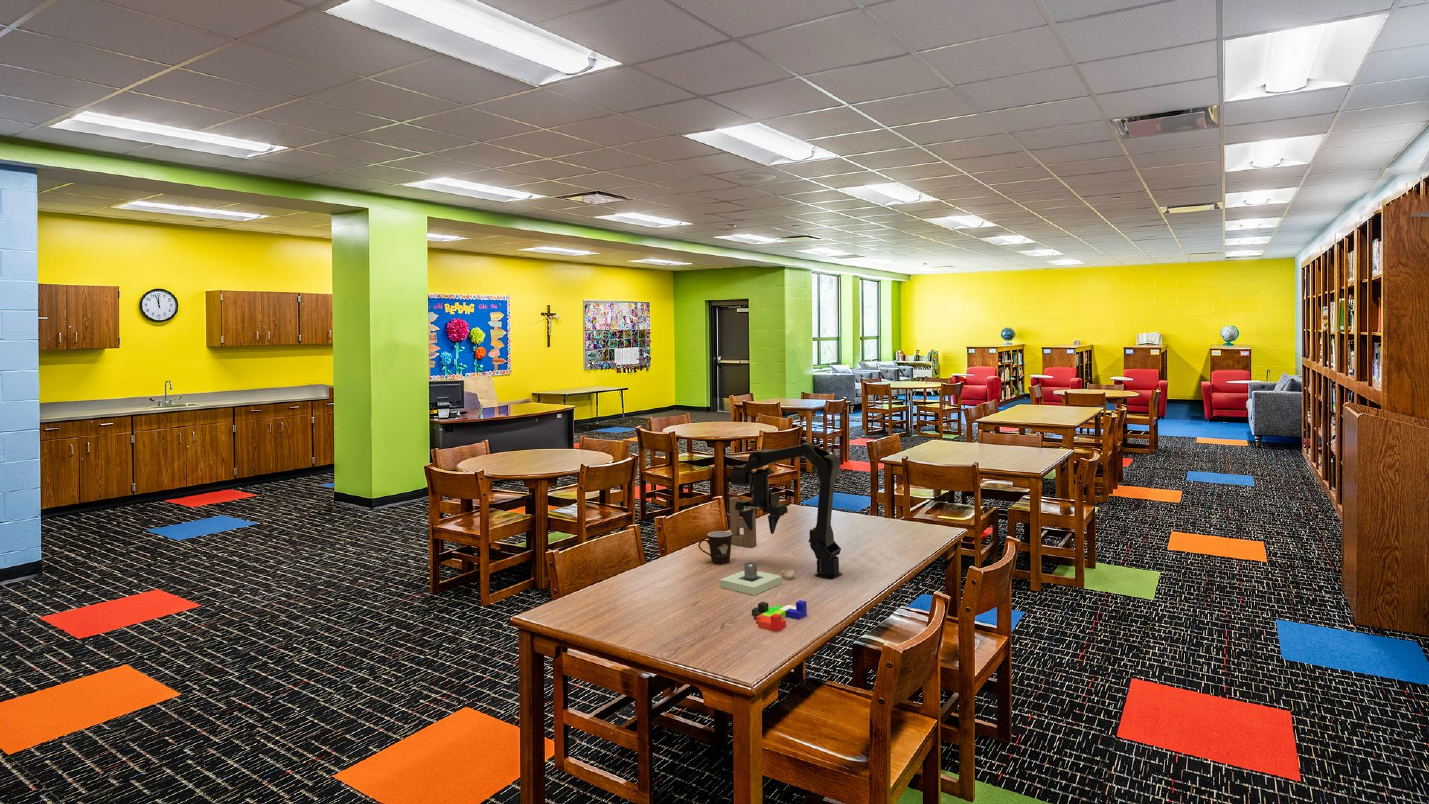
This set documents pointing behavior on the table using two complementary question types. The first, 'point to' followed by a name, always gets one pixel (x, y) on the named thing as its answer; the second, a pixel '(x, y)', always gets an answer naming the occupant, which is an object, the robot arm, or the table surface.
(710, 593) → the table surface
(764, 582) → the hole board
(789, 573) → the short birch pin
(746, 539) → the wooden block
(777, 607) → the building blocks
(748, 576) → the long steel pin
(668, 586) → the table surface
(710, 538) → the coffee mug
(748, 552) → the table surface
